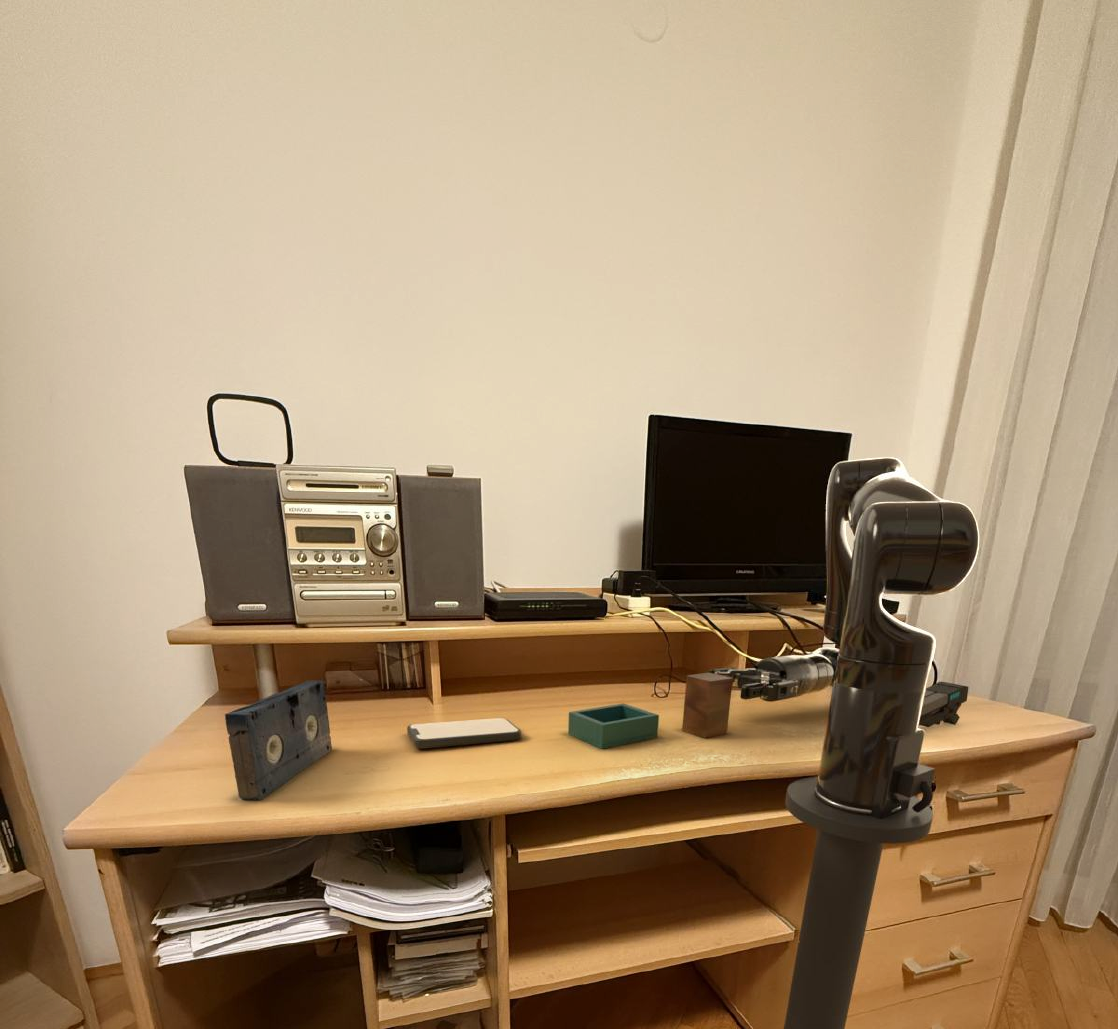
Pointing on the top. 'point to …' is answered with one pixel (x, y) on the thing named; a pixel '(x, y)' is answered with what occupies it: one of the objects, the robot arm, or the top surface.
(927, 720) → the gun
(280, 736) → the vhs cassette tape
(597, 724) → the open box
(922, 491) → the robot arm
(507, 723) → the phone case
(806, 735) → the top surface
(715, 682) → the brown block
